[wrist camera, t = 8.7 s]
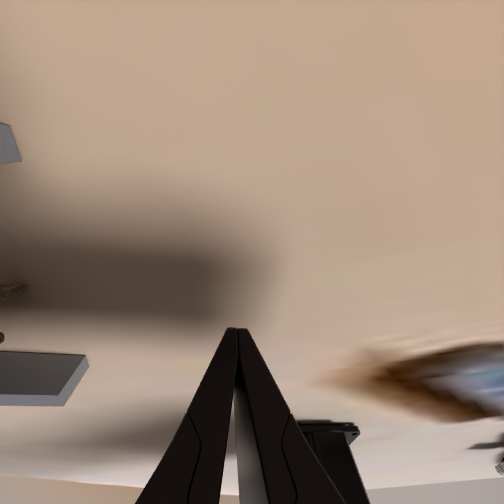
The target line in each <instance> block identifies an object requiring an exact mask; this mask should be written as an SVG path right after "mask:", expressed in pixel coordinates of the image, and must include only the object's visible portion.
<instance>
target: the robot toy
mask: <svg viewBox="0 0 504 504" xmlns="http://www.w3.org/2000/svg"><path fill="white" fill-rule="evenodd" d="M495 468H496V470H497V472H498V473H499V474H501V475H503V476H504V458H503V460H502V463H500V464H499V465H497V466H495Z"/></svg>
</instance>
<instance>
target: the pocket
mask: <svg viewBox="0 0 504 504" xmlns="http://www.w3.org/2000/svg"><path fill="white" fill-rule="evenodd" d="M19 161H21V157H20V154H19V151H18V148H17V145H16V142H15V139H14V136H13V133H12V130H11V127H10V125H6V124H1V123H0V164H2V163H10V162H19ZM88 368H89V365H88V362H87V359H86V356H82V355H60V354H39V353H17V352H0V406H64V405H65V403H66V402H67V400H68V399H69V397H70V396H71V394H72V393H73V391H74V389H75V388H76V386H77V385H78V383H79V382H80V380H81V378H82V377H83V375H84V374H85V372H86V371H87V369H88Z"/></svg>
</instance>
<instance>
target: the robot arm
mask: <svg viewBox="0 0 504 504" xmlns="http://www.w3.org/2000/svg"><path fill="white" fill-rule="evenodd" d="M233 399H234V416H235V433H236V449H237V466H238V483H239V499H240V504H370V501H369V498H368V496H367V493H366V490H365V487H364V485H363V482H362V479H361V476H360V474H359V471H358V468H357V465H356V463H355V460H354V457H353V455H352V452H351V449H350V446H349V445H350V444H351V443H352V442H353V441H354V440H355V439H356V438H357V437H358V436H359V435H360V431H359V429H358V426H298V424H297V422H296V420H295V419H294V417H293V415H292V414H290V412H291V411H290V409H289V407H288V405H287V403H286V401H285V400H284V398H283V396H282V394H281V392H280V390H279V388H278V386H277V384H276V382H275V380H274V378H273V377H272V375H271V373H270V371H269V369H268V367H267V365H266V363H265V361H264V359H263V357H262V355H261V354H260V352H259V350H258V348H257V346H256V344H255V342H254V340H253V338H252V336H251V334H250V332H249V331H248V329H246V328H238V329H237V328H232V327H228V328H227V329H226V331H225V334H224V336H223V338H222V340H221V342H220V344H219V346H218V348H217V350H216V352H215V354H214V356H213V358H212V360H211V362H210V364H209V367H208V369H207V371H206V373H205V375H204V377H203V379H202V381H201V383H200V385H199V387H198V389H197V391H196V393H195V395H194V397H193V400H192V402H191V404H190V406H189V408H188V410H187V413H186V414H185V416H184V418H183V420H182V422H181V424H180V426H179V428H178V430H177V432H176V434H175V436H174V438H173V440H172V441H171V443H170V445H169V447H168V449H167V451H166V452H165V454H164V456H163V458H162V459H161V461H160V463H159V464H158V466H157V468H156V470H155V471H154V473H153V475H152V476H151V478H150V480H149V481H148V483H147V484H146V486H145V488H144V489H143V491H142V493H141V494H140V496H139V498H138V499H137V501H136V503H135V504H219V499H220V491H221V484H222V476H223V469H224V461H225V454H226V446H227V439H228V431H229V424H230V416H231V409H232V401H233Z"/></svg>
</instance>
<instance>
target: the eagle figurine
mask: <svg viewBox="0 0 504 504" xmlns="http://www.w3.org/2000/svg"><path fill="white" fill-rule="evenodd" d="M26 287H27V286H26V284H24V283H19V284H11V285H0V303H1V302H2V301H4V300H6V299H8V298H10V297H12V296H14V295H17V294H19V293H21V292H22V291H24V290H25V288H26ZM3 341H4V334H3V333H2V332H0V344H1V343H2V342H3Z"/></svg>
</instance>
